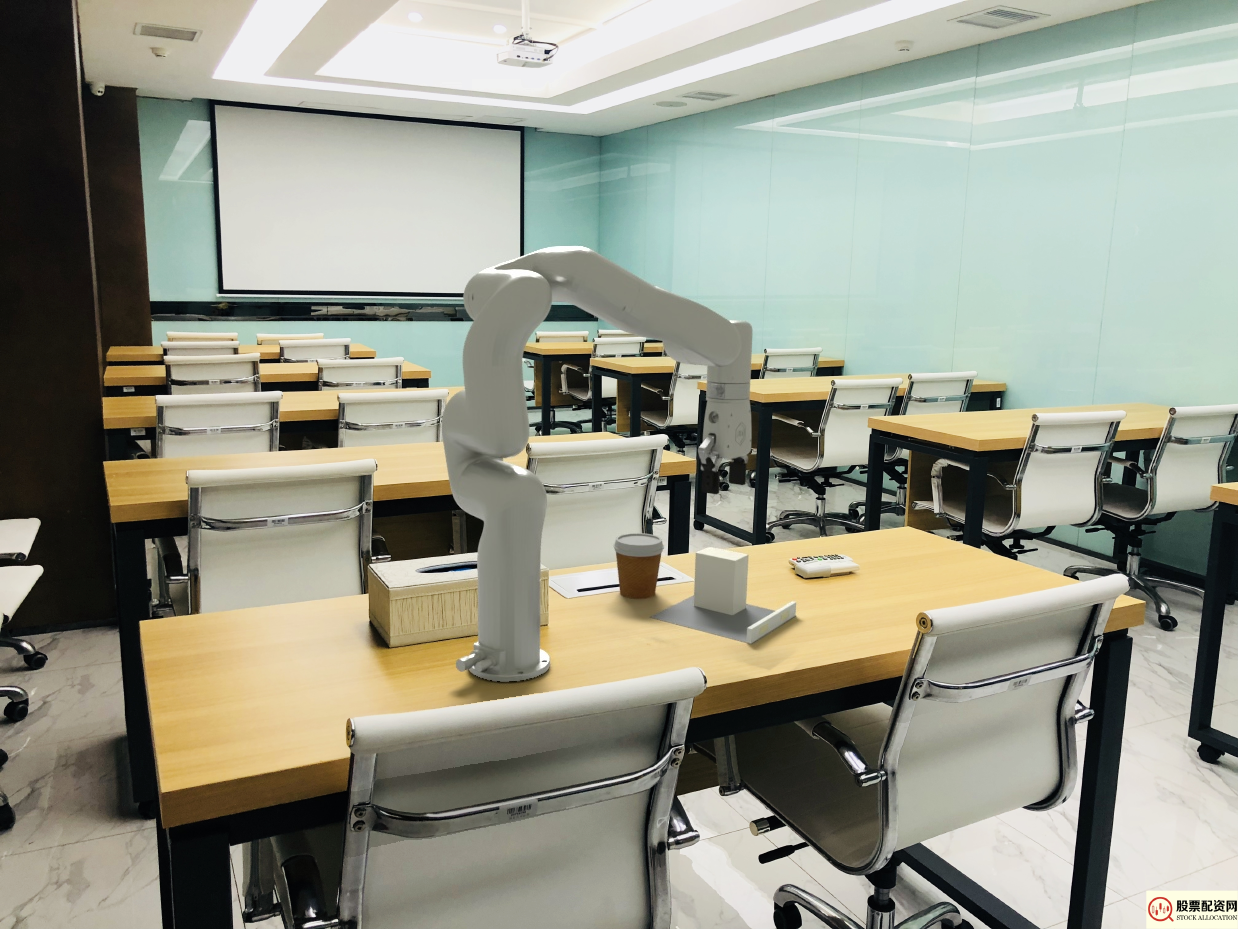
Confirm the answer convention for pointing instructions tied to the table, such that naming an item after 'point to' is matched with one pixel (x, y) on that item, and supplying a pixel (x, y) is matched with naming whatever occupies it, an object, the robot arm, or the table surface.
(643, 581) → the disposable coffee cup
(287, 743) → the table surface
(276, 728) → the table surface
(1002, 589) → the table surface
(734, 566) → the carton
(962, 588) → the table surface
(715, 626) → the shelf board
